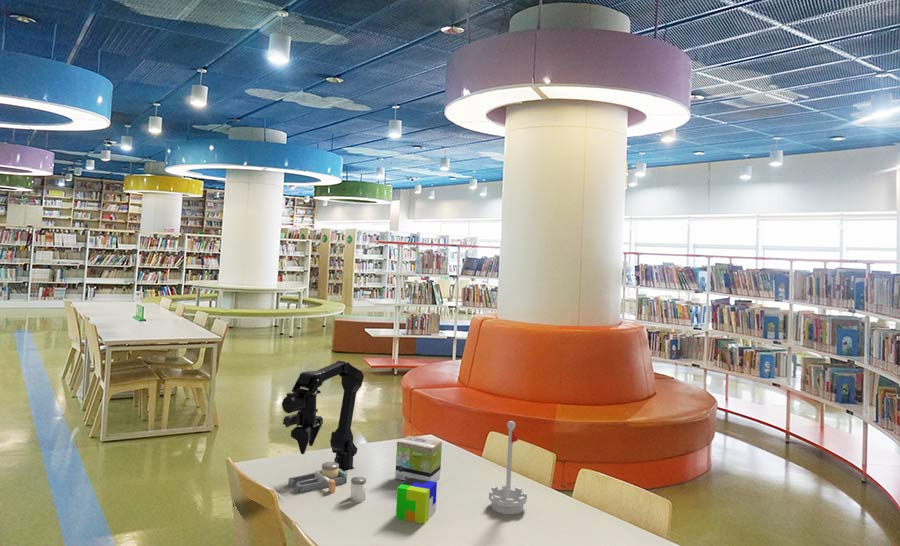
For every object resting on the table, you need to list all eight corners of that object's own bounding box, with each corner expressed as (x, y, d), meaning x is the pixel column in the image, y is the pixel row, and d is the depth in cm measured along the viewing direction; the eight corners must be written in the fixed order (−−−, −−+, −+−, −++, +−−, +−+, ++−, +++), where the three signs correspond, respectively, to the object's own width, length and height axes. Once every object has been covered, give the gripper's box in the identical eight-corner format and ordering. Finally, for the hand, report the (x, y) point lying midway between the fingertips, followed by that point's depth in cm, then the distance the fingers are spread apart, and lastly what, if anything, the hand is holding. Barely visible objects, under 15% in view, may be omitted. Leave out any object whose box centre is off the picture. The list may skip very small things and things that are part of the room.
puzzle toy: (435, 512, 194) (436, 482, 194) (424, 524, 185) (425, 492, 185) (408, 506, 198) (409, 477, 197) (395, 518, 188) (397, 487, 188)
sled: (317, 480, 216) (317, 469, 216) (334, 493, 205) (335, 481, 205) (292, 485, 210) (293, 474, 210) (309, 498, 199) (310, 486, 199)
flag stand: (481, 502, 204) (485, 417, 203) (514, 498, 209) (518, 415, 209) (499, 517, 192) (503, 427, 191) (533, 512, 197) (537, 424, 197)
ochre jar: (333, 476, 220) (334, 461, 220) (341, 482, 215) (341, 465, 215) (318, 479, 216) (319, 463, 216) (325, 485, 211) (326, 468, 211)
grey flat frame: (334, 476, 222) (334, 465, 222) (346, 484, 215) (347, 473, 215) (288, 485, 211) (288, 474, 211) (299, 494, 203) (299, 483, 203)
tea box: (394, 479, 222) (396, 441, 221) (406, 471, 231) (407, 434, 231) (430, 487, 216) (432, 447, 216) (440, 478, 225) (442, 440, 225)
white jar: (360, 495, 205) (361, 475, 205) (368, 500, 201) (369, 480, 201) (347, 498, 202) (348, 478, 202) (354, 503, 198) (355, 483, 198)
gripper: (295, 399, 221) (294, 440, 221) (276, 412, 202) (275, 457, 203) (324, 401, 220) (322, 442, 220) (308, 414, 201) (306, 459, 202)
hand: (306, 449), depth 211 cm, fingers open, 9 cm apart
